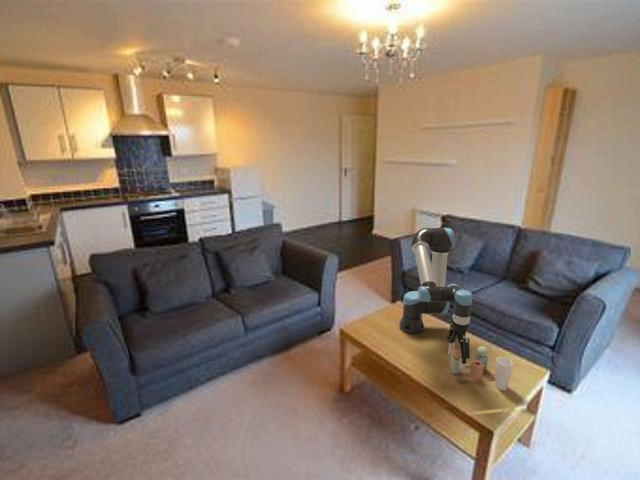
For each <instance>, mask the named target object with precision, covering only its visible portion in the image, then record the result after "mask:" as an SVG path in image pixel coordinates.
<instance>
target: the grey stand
mask: <svg viewBox="0 0 640 480" xmlns="http://www.w3.org/2000/svg"><path fill="white" fill-rule="evenodd" d="M474 358H475V359H474V361H480V362H481V363H482V364H483V365H484V368H483V371H486V369H487V367H488V361H489V356H488V355H487V356H485V357H481V356H480V355H478V353H477V352H476V353H475V357H474Z"/></svg>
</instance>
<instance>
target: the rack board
mask: <svg viewBox="0 0 640 480" xmlns="http://www.w3.org/2000/svg"><path fill="white" fill-rule="evenodd" d="M445 369H446V370H447V372H448V373H449V374H450V376H451V377H452V378H453V380H454V381H455V382H456V384H457V385H464V384H465V385H467V384H477V383H487V382H495V375H493V374H492V373H491V372H490V370H488V369H487V368H486V371H483V375H482V380H475V381H474V380H473V379H472V377H471V376H470V369H471V364H470V365H465V368H462V369H461V373H457V374H453V373H452V371H451V370H450V366H449V367H445Z"/></svg>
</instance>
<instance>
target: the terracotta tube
mask: <svg viewBox="0 0 640 480" xmlns="http://www.w3.org/2000/svg"><path fill="white" fill-rule="evenodd" d="M470 365H471V369H470V376H471V377H472V379H473V380H474V381H475V380H482V375H483V368H484V365H483V364H482V363H481V362H480V361H475V360H471V362H470Z"/></svg>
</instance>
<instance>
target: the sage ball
mask: <svg viewBox="0 0 640 480" xmlns="http://www.w3.org/2000/svg"><path fill="white" fill-rule="evenodd" d="M476 353H478V355H480V356H481V357H485V356H488V355H489V350H488V349H487V347H485V346H479V347H478V348H477V349H476Z"/></svg>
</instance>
